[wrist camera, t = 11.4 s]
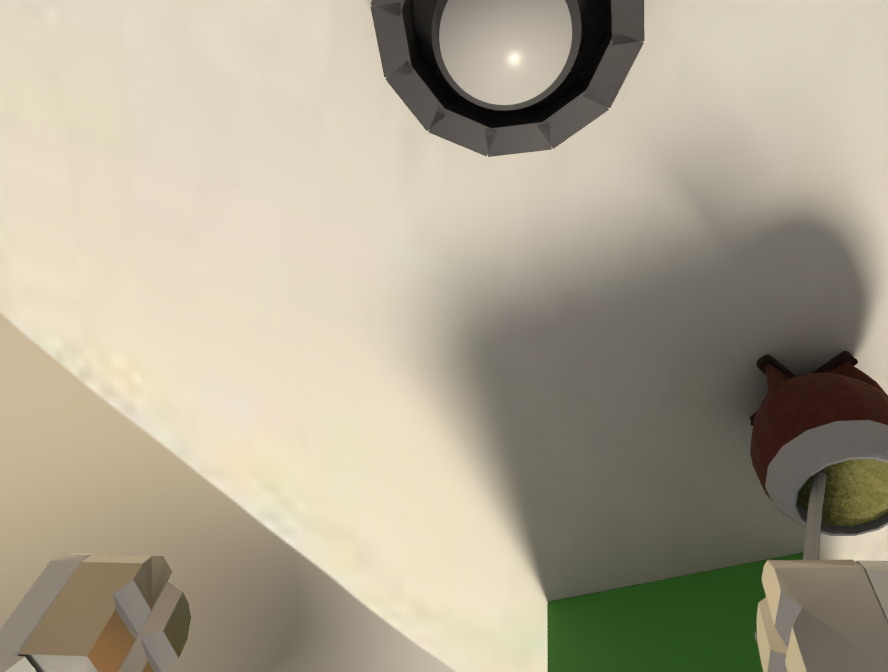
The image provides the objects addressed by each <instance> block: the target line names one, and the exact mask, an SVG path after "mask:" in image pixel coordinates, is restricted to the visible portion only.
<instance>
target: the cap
mask: <svg viewBox="0 0 888 672" xmlns="http://www.w3.org/2000/svg"><path fill="white" fill-rule="evenodd" d="M431 37H432V46H433V51H434V55H435V58H436V61H437V64H438V66H439V68H440V70H441V72H442V74H443V76H444V77H445V79H446V80H447V82H448V83H449V84H450V85H451V86H452V88H453V89H454V90H455V91H456V92H458V93H459V94H460V95H461V96H462V97H464V98H465V99H467V100H468V101H470V102H472V103H474V104H476V105H478V106H481V107H484V108H488V109H493V110H503V111H506V110H516V109H521V108H525V107H528V106H531V105H533V104H535V103H537V102H539V101H541V100H543V99H544V98H546V97H547V96H549V95H550V94H551V93H552V92H553V91H555V90H556V89H557V88H558V87H559V85H560V84H561V83H562V82H563V81H564V79H565V78H566V77H567V75H568V74H569V72H570V70H571V68H572V66H573V65H574V62H575V60H576V57H577V54H578V50H579V47H580V41H581V16H580V10H579V6H578V2H577V0H438V1H437V4H436V7H435V10H434V14H433V20H432V35H431Z"/></svg>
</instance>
